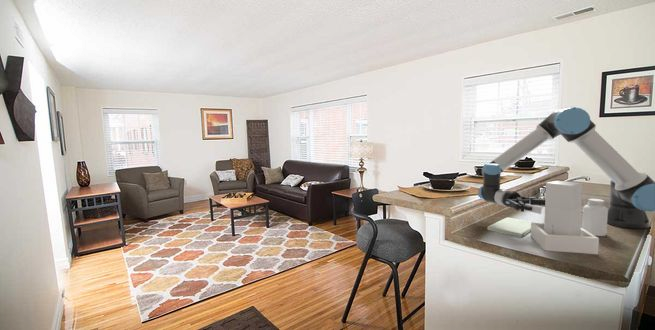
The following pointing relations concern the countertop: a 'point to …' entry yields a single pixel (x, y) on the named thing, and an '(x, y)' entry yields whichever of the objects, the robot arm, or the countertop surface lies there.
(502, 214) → the countertop surface
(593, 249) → the tray
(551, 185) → the tall white carton
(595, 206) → the pill bottle
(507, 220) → the cutting board
